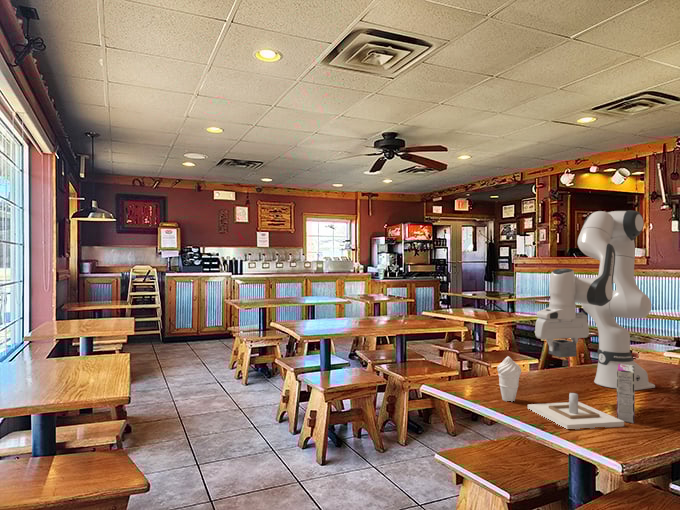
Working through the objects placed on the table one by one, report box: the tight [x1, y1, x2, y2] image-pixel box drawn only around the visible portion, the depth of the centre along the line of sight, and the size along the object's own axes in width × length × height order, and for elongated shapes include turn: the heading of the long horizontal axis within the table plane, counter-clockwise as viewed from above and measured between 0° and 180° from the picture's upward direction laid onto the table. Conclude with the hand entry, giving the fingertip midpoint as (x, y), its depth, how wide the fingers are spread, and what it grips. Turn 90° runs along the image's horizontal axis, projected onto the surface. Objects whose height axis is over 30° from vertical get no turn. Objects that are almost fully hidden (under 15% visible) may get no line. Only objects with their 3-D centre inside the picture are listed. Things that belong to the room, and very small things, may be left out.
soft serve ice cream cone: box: [496, 355, 522, 403], centre depth 170 cm, size 8×8×16 cm
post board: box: [527, 392, 625, 430], centre depth 153 cm, size 20×20×8 cm
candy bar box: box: [616, 364, 636, 424], centre depth 153 cm, size 11×5×16 cm, turn 148°
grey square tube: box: [548, 339, 577, 358], centre depth 172 cm, size 7×7×5 cm
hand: (562, 350), depth 172 cm, fingers closed on grey square tube, 7 cm apart
